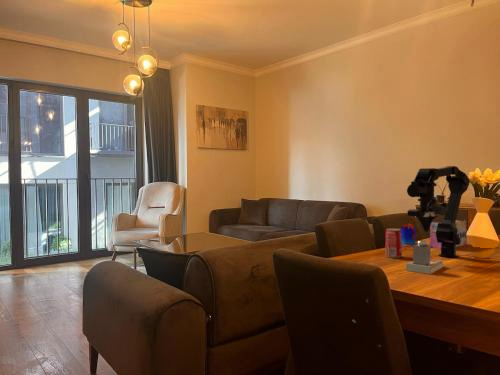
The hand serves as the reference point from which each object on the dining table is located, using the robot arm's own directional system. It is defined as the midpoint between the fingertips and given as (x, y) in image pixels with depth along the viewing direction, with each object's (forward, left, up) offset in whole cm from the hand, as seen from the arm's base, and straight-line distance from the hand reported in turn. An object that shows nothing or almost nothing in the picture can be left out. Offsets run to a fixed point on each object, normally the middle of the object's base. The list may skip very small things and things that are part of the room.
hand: (426, 231), depth 173 cm
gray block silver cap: (+17, +11, -11) cm, 23 cm away
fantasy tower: (-26, -31, -13) cm, 43 cm away
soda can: (+6, -13, -13) cm, 20 cm away
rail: (+13, +9, -13) cm, 21 cm away
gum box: (-42, -18, -13) cm, 48 cm away
